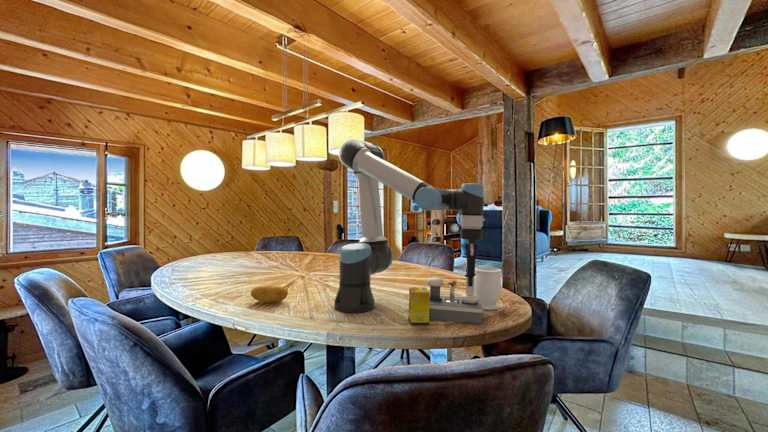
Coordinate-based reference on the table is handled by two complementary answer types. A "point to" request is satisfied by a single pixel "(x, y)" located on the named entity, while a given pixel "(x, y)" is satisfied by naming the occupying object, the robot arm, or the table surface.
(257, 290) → the potato
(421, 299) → the supplement box
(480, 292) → the white tapered cup
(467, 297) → the knob right
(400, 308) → the table surface
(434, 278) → the knob left
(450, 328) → the table surface
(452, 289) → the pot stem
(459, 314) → the mount
